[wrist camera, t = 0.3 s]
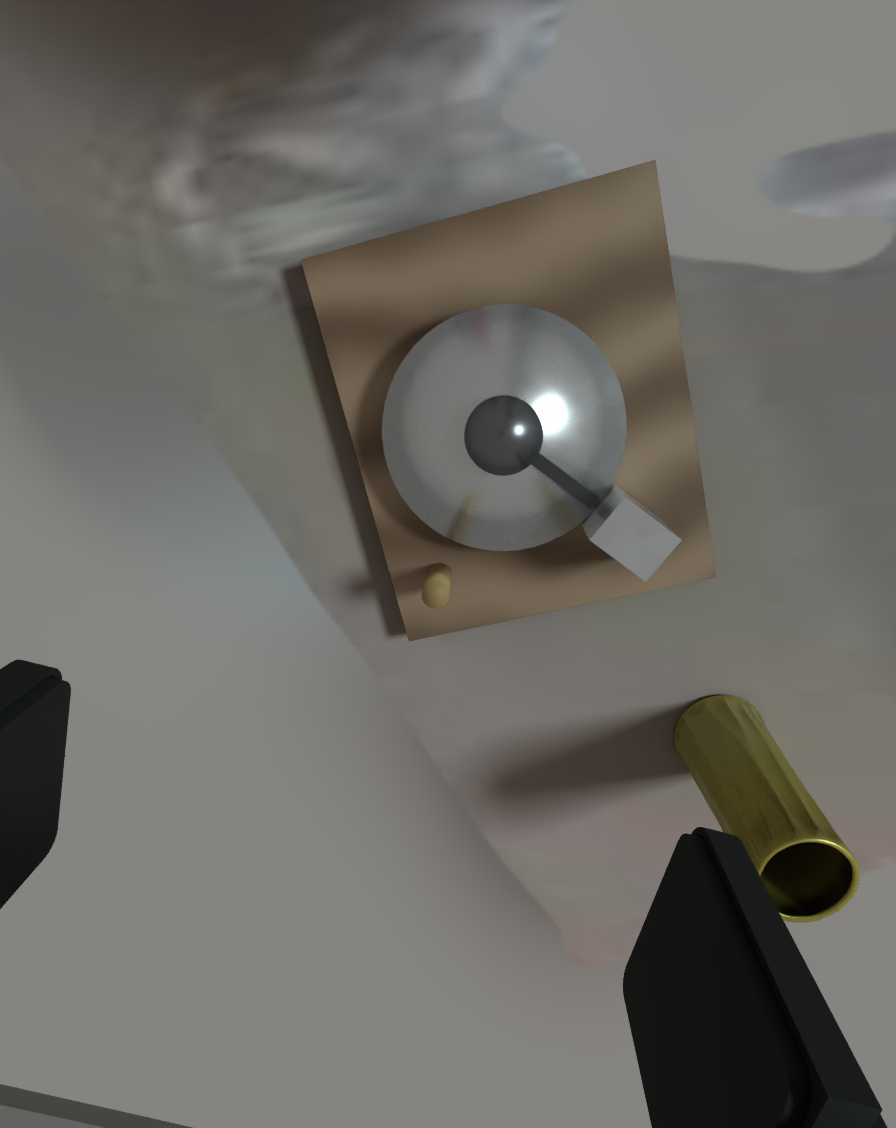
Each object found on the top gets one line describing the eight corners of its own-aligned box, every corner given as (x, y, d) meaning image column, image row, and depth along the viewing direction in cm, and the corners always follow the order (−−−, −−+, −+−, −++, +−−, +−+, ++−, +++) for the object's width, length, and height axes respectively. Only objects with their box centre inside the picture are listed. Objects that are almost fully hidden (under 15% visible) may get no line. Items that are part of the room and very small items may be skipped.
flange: (340, 455, 43) (323, 468, 38) (478, 252, 39) (477, 240, 34) (572, 622, 45) (582, 653, 41) (723, 446, 41) (753, 459, 37)
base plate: (307, 262, 41) (281, 250, 36) (649, 166, 39) (674, 139, 34) (411, 632, 48) (401, 667, 43) (708, 569, 46) (737, 599, 40)
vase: (670, 771, 50) (739, 929, 36) (676, 693, 48) (750, 830, 35) (758, 771, 50) (861, 931, 36) (767, 693, 48) (878, 831, 34)
